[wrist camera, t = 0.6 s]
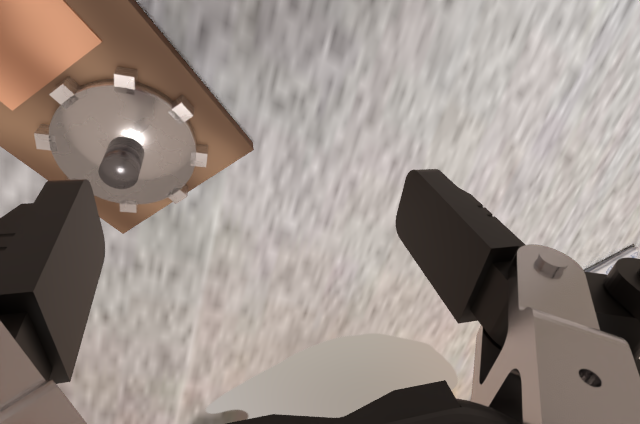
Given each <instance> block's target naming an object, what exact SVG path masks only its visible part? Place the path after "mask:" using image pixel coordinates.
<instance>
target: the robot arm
mask: <svg viewBox="0 0 640 424" xmlns="http://www.w3.org/2000/svg"><path fill="white" fill-rule="evenodd" d="M396 229H397V233H398V236H399V238H400V239H401V241H402V242H403V244H404V245H405V247H406V248H407V249H408V251H409V252H410V254H411V255H412V257H413V258H414V260H415V261H416V263H417V264H418V265H419V267H420V268H421V270H422V271H423V273H424V274H425V276H426V277H427V279H428V280H429V281H430V283H431V284H432V286H433V287H434V289H435V290H436V292H437V293H438V295H439V296H440V298H441V299H442V300H443V302H444V303H445V305H446V306H447V308H448V309H449V311H450V312H451V314H452V315H453V316H454V318H455V319H456V321H457V322H458V323H464V322H471V321H477V320H478V321H479V322H480V324H481V326H480V328H479V330H478V333H477V337H476V349H475V360H474V372H473V384H472V395H471V400H470V401H467V400H462V399H456V398H455V396H454V395H453V393H452V391H451V389H450V388H449V386H448V385H447V382H446V381H445V380H444V381H439V382H434V383H429V384H425V385H419V386H414V387H409V388H404V389H399V390H394V391H392V392H390V393H388V394H386V395H385V396H383V397H381V398H379V399H377V400H375V401H373V402H371V403H370V404H368V405H366V406H364V407H362V408H360V409H358V410H356V411H354V412H352V413H350V414H349V415H347V416H344V417H340V418H325V417H309V416H291V415H275V414H273V415H268V416H262V417H257V418H252V419H247V420H242V421H237V422H232V423H227V424H640V359H639V357H640V259H637V258H621V259H619V260H617V262H616V263H615V264H614V266H613V267H612V269H611V270H610V272H609V273H608V275H606V274H599V273H592V272H585V271H583V269H582V268H581V266H580V265H579V264H578V263H577V262H575V261H574V260H573V259H572V258H570V257H569V256H567V255H565V254H564V253H562V252H560V251H557V250H555V249H553V248H550V247H546V246H542V245H534V244H531V245H525V244H524V243H523V242H522V241H521V240H520V239H518V238H517V237H516V236H515V235H514V234H513V233H512V232H511V231H510V230H509V229H508V228H507V227H506V226H504V225H503V224H502V223H501V222H500V221H499V220H498V219H497V218H496V217H492V214H491V213H490V212H489V211H488V210H487V209H486V208H483V205H482V204H481V203H480V202H479V201H477V200H476V199H475V198H474V197H473V196H472V195H471V194H469V193H467V192H465V191H464V190H462V189H460V188H458V187H457V186H456V185H455V184H454V183H453V182H451V181H450V180H449V179H448V178H447V177H446V176H445V175H444V174H443V173H442V172H441V171H440V170H438V169H427V170H411V171H410V172H409V173H408V175H407V177H406V180H405V184H404V188H403V192H402V196H401V200H400V204H399V208H398V211H397V215H396ZM104 257H105V241H104V234H103V230H102V226H101V222H100V218H99V214H98V210H97V206H96V202H95V198H94V194H93V190H92V187H91V184H90V182H89V181H88V180H86V179H82V180H50V181H47V182H46V184H45V185H44V187H43V189H42V190H41V192H40V193H39V195H38V197H37V198H36V200H35V202H34V203H31V204H21V205H19V206H18V207H16V208H15V209H13V210H12V211H10V212H9V213H7V214H6V215H5V216H3V217H2V218H0V424H87V423H86V422H85V421H84V419H83V418H82V417H81V415H80V414H79V413H78V411H77V410H76V409H75V408H74V406H73V405H72V404H71V402H70V401H69V400H68V398H67V397H66V396H65V395H64V393H63V392H62V391H61V389H60V388H59V387H58V386H57V385H56V384H58V383H64V382H70V381H71V377H72V374H73V370H74V366H75V363H76V359H77V356H78V352H79V349H80V345H81V341H82V338H83V334H84V331H85V327H86V323H87V320H88V316H89V313H90V309H91V305H92V302H93V298H94V295H95V291H96V287H97V284H98V280H99V277H100V273H101V269H102V266H103V262H104Z"/></svg>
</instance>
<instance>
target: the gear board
mask: <svg viewBox="0 0 640 424" xmlns="http://www.w3.org/2000/svg"><path fill="white" fill-rule="evenodd" d="M117 67H124V68H129V69H135V70H138V82H139V83H142V84H145V85H148V86H150V87H152V88H154V89H156V90H158V91H160V92H162V93H163V94H165V95H166V96H168V97H169V98H170V99H171V100H173V101H174V100H176V99H177V98H179V97H180V96H182V95H183V96H184V97H185V98H186V99H187V100H188V101H189V102H190V103H191V105H192V106H193V107H194V116H193V117H191V118H190V119H189V121H190V122H191V125H192V127H193V129H194V133H195V136H196V143H197V144H204V145H208V154H207V164H206V167H198V166H195V167H194V170H193V173H192V175H191V177H190V179H189V180H188V181H187V183H186V185H187V186H188V192H189V191H190V190H192V189H193V188H195V187H196V186H198V185H200V184H201V183H203V182H204V181H206V180H207V179H209V178H210V177H212V176H214V175H215V174H217V173H218V172H220V171H221V170H223V169H224V168H226V167H228V166H229V165H231V164H232V163H234V162H235V161H237V160H238V159H240V158H241V157H243V156H245V155H246V154H248V153H249V152H251V151H252V150H254V149H253V142H252V141H251V140H250V139H249V138H248V136H247V135H246V134H245V133H244V132H243V130H242V129H241V128H240V127H239V126H238V124H237V123H236V122H235V121H234V120H233V118H232V117H231V116H230V115H229V114H228V112H227V111H226V110H225V109H224V108H223V106H222V105H221V104H220V103H219V102H218V100H217V99H216V98H215V97H214V95H213V94H212V93H211V92H210V91H209V89H208V88H207V87H206V86H205V85H204V83H203V82H202V81H201V80H200V79H199V77H198V76H197V75H196V74H195V73H194V71H193V70H192V69H191V68H190V67H189V65H188V64H187V63H186V62H185V61H184V59H183V58H182V57H181V56H180V54H179V53H178V52H177V51H176V50H175V48H174V47H173V46H172V45H171V44H170V42H169V41H168V40H167V39H166V38H165V36H164V35H163V34H162V33H161V32H160V30H159V29H158V28H157V27H156V26H155V24H154V23H153V22H152V21H151V20H150V18H149V17H148V16H147V15H146V14H145V12H144V11H143V10H142V9H141V7H140V6H139V5H138V4H137V3H136V1H135V0H0V146H1V147H2V148H4V149H5V150H6V151H8V152H9V153H11V154H12V155H13V156H15V157H16V158H18V159H19V160H20V161H22V162H23V163H25V164H26V165H27V166H29V167H30V168H32V169H33V170H34V171H36V172H37V173H39V174H40V175H41V176H43V177H44V178H46V179H47V180H48V181H50V180H66V178H67V176H66V175H65V174H64V172H63V171H62V170H61V169H60V167H59V166H58V164H57V162H56V161H55V159H54V157H53V154H52V152H51V150H42V149H37V148H36V142H35V136H34V132H35V131H36V130H37V128H38V127H39V126H40V124H46V125H50V123H51V120H52V117H53V115H54V114H55V112H56V110H57V109H58V108H59V106H60V105H61V104H59V103H58V102H57V101H56V100H55V99H54V98H52V97H51V96H50V95H49V94H50V93H51V92H52V90H53V89H54V88H55V87H56V86H57V85H58V84H59V83H61V82H62V81H63V80H65V79H66V78H67V77H71V78H72V79H73V80H74V81H75V82H76V83H77V84H78V85H79V86H82V85H85V84H87V83H89V82H93V81H97V80H103V79H114V72H115V71H116V69H117ZM94 198H95V202H96V206H97V210H98V214H99V217H100V218H102V219H103V220H105V221H106V222H107V223H109V224H110V225H112V226H113V227H114V228H116V229H117V230H119V231H120V232H121V233H125V232H127V231H128V230H130V229H131V228H133V227H134V226H136V225H137V224H139V223H140V222H142V221H144V220H145V219H147V218H148V217H150V216H151V215H153V214H154V213H156V212H158V211H159V210H161V209H162V208H164V207H165V206H167V205H168V204H170V203H172V202H173V201H172V200H171V199H169V198H166V199H163V200H161V201H157V202H154V203H148V204H138V208H137V213H132V212H120V203H116V202H111V201H108V200H105V199H102V198H99V197H97V196H94Z"/></svg>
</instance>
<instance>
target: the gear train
mask: <svg viewBox="0 0 640 424" xmlns="http://www.w3.org/2000/svg"><path fill="white" fill-rule="evenodd" d="M49 95H50V96H51V97H52V98H54V99H55V100H56V101H57V102H58V103H59V104H61V105H60V106H59V108H58V109H57V110H56V112H55V114H54V115H53V117H52V120H51V123H50V125H46V124H40V126H39V127H38V128H37V130H36V131H35V132H34V136H35V142H36V148H37V149H42V150H51V152H52V154H53V157H54V159H55V161H56V162H57V164H58V166H59V167H60V169H61V170H62V171H63V172H64V174H65V175H66V176H67V178H66V180H82V179H86V180H88V181H89V182H90V184H91V187H92V190H93V194H94V196H97V197H99V198H102V199H105V200H108V201H111V202H116V203H120V212H132V213H137V208H138V204H148V203H154V202H157V201H161V200H163V199H166V198H169V199H171V200H172V201H173V202H174V203H175V204H176V203H178V202H179V201H181V200H183V199H184V198H186V197H187V194H188V186H187V185H186V183H187V181H188V180H189V179H190V177H191V175H192V173H193V170H194V167H195V166H198V167H206V164H207V154H208V145H204V144H197V143H196V136H195V133H194V129H193V127H192V125H191V122H190V121H189V119H190V118H191V117H193V116H194V107H193V106H192V105H191V103H190V102H189V101H188V100H187V99H186V98H185V97H184V96H183V95H182V96H180V97H179V98H177V99H176V100H174V101H173V100H171V99H170V98H169V97H168V96H166V95H165V94H163V93H162V92H160V91H158V90H156V89H154V88H152V87H150V86H148V85H145V84H142V83H139V82H138V70H135V69H129V68H124V67H117V69H116V71H115V72H114V79H103V80H97V81H93V82H89V83H87V84H85V85H82V86H79V85H78V84H77V83H76V82H75V81H74V80H73V79H72V78H71V77H67V78H66V79H65V80H63V81H62V82H61V83H59V84H58V85H57V86H56V87H55V88H54V89H53V90H52V92H51V93H50V94H49Z"/></svg>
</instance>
